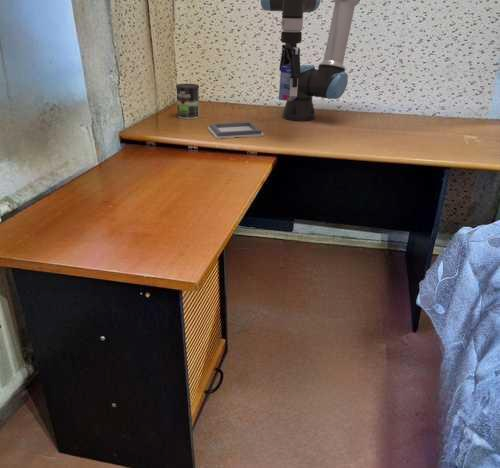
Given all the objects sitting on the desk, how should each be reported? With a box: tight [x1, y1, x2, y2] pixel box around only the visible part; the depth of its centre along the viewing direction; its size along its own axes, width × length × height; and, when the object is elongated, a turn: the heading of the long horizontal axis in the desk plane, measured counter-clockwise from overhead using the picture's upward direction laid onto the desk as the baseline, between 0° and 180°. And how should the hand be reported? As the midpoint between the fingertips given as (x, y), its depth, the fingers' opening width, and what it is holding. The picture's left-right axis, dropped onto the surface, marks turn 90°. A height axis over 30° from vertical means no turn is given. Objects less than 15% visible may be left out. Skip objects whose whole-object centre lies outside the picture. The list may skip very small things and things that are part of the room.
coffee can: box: [175, 83, 200, 120], centre depth 219 cm, size 10×10×14 cm
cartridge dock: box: [207, 121, 265, 140], centre depth 198 cm, size 20×16×2 cm
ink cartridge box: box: [278, 64, 297, 102], centre depth 181 cm, size 10×6×14 cm, turn 164°
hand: (288, 93), depth 184 cm, fingers closed on ink cartridge box, 11 cm apart
